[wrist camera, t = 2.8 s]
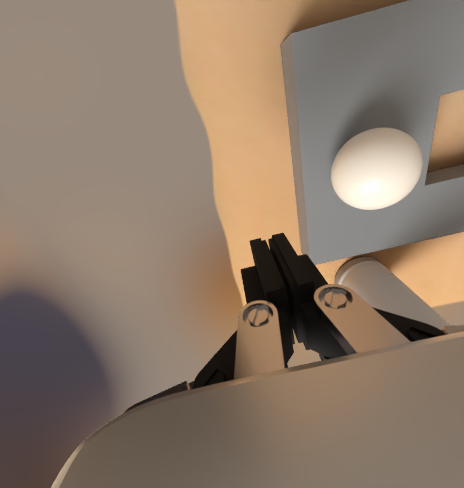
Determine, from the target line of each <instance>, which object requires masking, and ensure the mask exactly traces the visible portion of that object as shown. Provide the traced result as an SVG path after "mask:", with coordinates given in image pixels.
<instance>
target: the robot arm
mask: <svg viewBox="0 0 464 488" xmlns="http://www.w3.org/2000/svg"><path fill="white" fill-rule="evenodd" d="M250 245H251V250H252V254H253V259H254V263H255V266H252V267H248V268H244V269H241V274H242V280H243V285H244V291H245V296H246V302H247V304H246V305H245V306H244V307H243V308H242V309H241V311H240V312H239V316H238V328H237V331H236V332H235V333H234V334H233V335H232V336H231V337H230V338H229V340H228V341H227V342H226V343H225V344H224V345H223V346H222V348H220V350H219V351H218V352H217V353H216V354H215V355H214V356H213V358H212V359H211V360H210V361H209V362H208V363H207V364H206V365H205V367H204V368H203V369H202V370H201V371H200V372H199V374H198V375H197V377H196V378H195V381H192V382H190V383H187V381H184V382H182V383H180V384H178V385H176V386H173V387H171V388H169V389H167V390H165V391H162V392H160V393H158V394H156V395H154V396H151V397H149V398H147V399H145V400H142V401H140V402H138V403H136V404H134V405H133V406H131V407H129V408H128V409H127V410H126V411H125V412H124V413H122V414H121V415H119V416H117V417H116V418H114V419H113V420H111V421H109V422H108V423H106V424H105V425H103V426H102V427H100V428H99V429H98V430H96V431H95V432H94V433H93V434H91V435H90V436H89V437H88V438H87V439H85V440H84V442H82V443H81V444H80V446H79V447H78V448H77V449H76V450H75V451H74V453H73V454H72V455H71V456H70V458H69V459H68V460H67V462H66V463H65V465H64V466H63V468H62V470H61V471H60V473H59V474H58V476H57V478H56V480H55V481H54V483H53V485H52V487H51V488H464V325H463V326H462V325H458V326H442V329H438V328H436V327H434V326H432V325H429V324H427V323H424V322H420V321H417V320H413V319H410V318H407V317H403V316H400V315H397V314H393V313H390V312H387V311H383V310H380V309H377V308H373V307H371V306H370V305H369V304H368V303H367V302H365V301H364V300H363V299H362V298H361V297H360V296H359V295H358V294H357V293H355V292H354V291H353V290H352V289H350V288H349V287H346V286H344V285H339V284H328V283H327V282H326V280H325V279H324V278H323V276H322V275H321V273H320V272H319V270H318V269H317V268H316V266H315V265H314V263H313V262H312V260H311V259H310V258H309V256H308V255H307V254H304V255H299V256H298V255H297V254H296V252H295V251H294V249H293V247H292V246H291V244H290V243H289V241H288V239H287V238H286V236H285V235H284V233H280V234H276V235H272V238H271V239H269V246H270V249H269V247H268V245H267V243H266V240H263V241H261V238H259V239H255V240H251V241H250ZM293 330H294V333H295V335H296V338H297V340H298V343H301V342H303V343H304V346H305V348H306V350H309V349H311V350H313V351H316V352H318V353H319V356H320V359H321V361H318V362H313V363H309V364H304V365H300V366H295V367H290V368H288V365H287V362H288V361H289V359H290V358H291V356H292V354H293V353H294V350H293V344H295V341H294V334H293Z"/></svg>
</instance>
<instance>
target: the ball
mask: <svg viewBox="0 0 464 488" xmlns="http://www.w3.org/2000/svg"><path fill="white" fill-rule="evenodd" d="M422 167H423V158H422V153H421V150H420V148H419V146H418V144H417V143H416V141H415V140H414V139H413V138H412V137H411V136H409V135H408V134H407V133H405V132H403V131H401V130H398V129H394V128H387V127H385V128H374V129H370V130H367V131H364V132H361V133H359V134H358V135H356V136H354V137H353V138H351V139H350V140H349V141H347V142H346V143H345V144H344V145H343V147H342V148H341V149H340V150H339V152H338V153H337V155H336V157H335V159H334V161H333V164H332V169H331V181H332V186H333V188H334V190H335V192H336V194H337V195H338V196H339V198H340V199H341V200H343V201H344V202H345V203H347V204H348V205H350V206H352V207H355V208H358V209H363V210H376V209H382V208H385V207H388V206H391V205H393V204H395V203H397V202H399V201H400V200H402V199H403V198H404V197H405V196H407V195H408V194H409V193H410V192H411V191H412V189H413V188H414V187H415V185H416V184H417V182H418V180H419V178H420V175H421V172H422Z"/></svg>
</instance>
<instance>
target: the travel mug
mask: <svg viewBox="0 0 464 488" xmlns="http://www.w3.org/2000/svg"><path fill="white" fill-rule="evenodd" d="M335 284H339V285H344V286H346V287H349V288H350V289H352V290H353V291H354V292H355V293H357V294H358V295H359V296H360V297H361V298H362V299H363V300H364V301H365V302H367V303H368V304H369V305H370V306H371V307H373V308H377V309H380V310H383V311H387V312H390V313H393V314H397V315H400V316H403V317H407V318H410V319H413V320H417V321H420V322H424V323H427V324H429V325H432V326H434V327H436V328H438V329H442V326H451V325H450V324H449V323H447V322H446V321H445V320H444V319H443V318H442V317H441V316H440V315H439V314H437V313H436V312H435V311H434V310H433V309H432V308H431V307H430V306H429V305H427V304H426V303H425V302H424V301H423V300H422V299H421V298H420V297H419V296H417V295H416V294H415V293H414V292H413V291H412V290H411V289H410V288H408V287H407V286H406V285H405V284H404V283H403V282H402V281H401V280H400V279H398V278H397V277H396V276H395V275H394V274H393V273H392V272H391V271H389V270H388V269H387V268H386V267H385V266H384V265H383V264H382V263H381V262H379V261H378V260H377V259H375V258H372V257H359V258H355V259H353V260H351V261H349V262H347V263H346V264H344V265H343V266H342V267H341V268H340V269H339V271H338V272H337V274H336V277H335Z"/></svg>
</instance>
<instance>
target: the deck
mask: <svg viewBox="0 0 464 488" xmlns="http://www.w3.org/2000/svg"><path fill="white" fill-rule="evenodd" d="M281 54H282V64H283V74H284V83H285V93H286V103H287V113H288V123H289V133H290V143H291V153H292V163H293V173H294V183H295V193H296V203H297V213H298V223H299V232H300V242H301V252H302V254H303V255H304V254H307V255H308V256H309V258H310V259H311V260H312V262H313V263H314V265H316V264H321V263H325V262H330V261H334V260H339V259H343V258H348V257H352V256H357V255H361V254H366V253H370V252H375V251H379V250H384V249H388V248H393V247H397V246H402V245H406V244H411V243H415V242H420V241H424V240H429V239H433V238H438V237H442V236H447V235H451V234H456V233H460V232H464V164H460V165H456V166H452V167H448V168H443V169H439V170H435V171H431V172H427V169H428V163H429V157H430V151H431V145H432V140H433V134H434V128H435V122H436V116H437V111H438V105H439V99H440V95H444V94H448V93H452V92H455V91H459V90H463V89H464V0H408V1H405V2H401V3H398V4H394V5H390V6H387V7H383V8H380V9H376V10H373V11H369V12H366V13H362V14H358V15H355V16H351V17H348V18H344V19H341V20H337V21H333V22H330V23H326V24H323V25H319V26H316V27H312V28H309V29H305V30H301V31H298V32H294V33H291V34H290V35H289V36H288V37H287V38H286V39H285V41H284V42H283V43H282V44H281ZM385 127H387V128H394V129H398V130H401V131H403V132H405V133H407V134H408V135H409V136H411V137H412V138H413V139H414V140H415V141H416V143H417V144H418V146H419V148H420V150H421V153H422V158H423V167H422V172H421V175H420V178H419V180H418V182H417V184H416V185H415V187H414V188H413V189H412V191H411V192H410V193H409V194H408V195H407V196H405V197H404V198H403V199H402V200H400V201H399V202H397V203H395V204H393V205H391V206H388V207H385V208H382V209H376V210H363V209H358V208H355V207H352V206H350V205H348V204H347V203H345V202H344V201H343V200H341V199H340V198H339V196H338V195H337V194H336V192H335V190H334V188H333V186H332V181H331V169H332V164H333V161H334V159H335V157H336V155H337V153H338V152H339V150H340V149H341V148H342V147H343V145H344V144H345V143H346V142H347V141H349V140H350V139H351V138H353V137H354V136H356V135H358V134H359V133H361V132H364V131H367V130H370V129H374V128H385Z"/></svg>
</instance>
